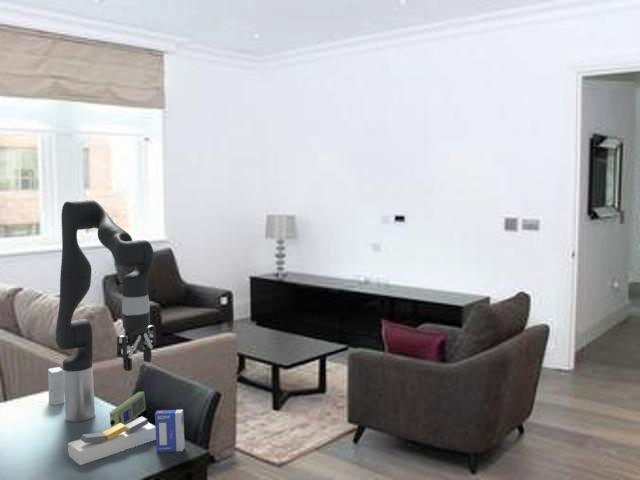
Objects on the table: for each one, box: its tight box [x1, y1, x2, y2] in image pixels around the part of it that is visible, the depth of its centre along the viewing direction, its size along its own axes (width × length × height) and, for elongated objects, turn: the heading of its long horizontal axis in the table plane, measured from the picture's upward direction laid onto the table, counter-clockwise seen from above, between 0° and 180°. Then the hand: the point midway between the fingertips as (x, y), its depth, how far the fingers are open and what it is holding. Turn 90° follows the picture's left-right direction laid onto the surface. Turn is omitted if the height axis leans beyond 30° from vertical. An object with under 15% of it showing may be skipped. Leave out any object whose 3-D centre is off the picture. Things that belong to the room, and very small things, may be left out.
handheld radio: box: [109, 391, 147, 428], centre depth 205 cm, size 7×3×25 cm
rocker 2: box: [125, 416, 149, 433], centre depth 190 cm, size 3×6×2 cm, turn 134°
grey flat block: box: [80, 432, 106, 443], centre depth 181 cm, size 3×6×2 cm, turn 134°
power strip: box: [67, 422, 156, 466], centre depth 187 cm, size 8×24×4 cm, turn 134°
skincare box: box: [47, 366, 65, 406], centre depth 225 cm, size 6×4×12 cm
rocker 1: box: [101, 423, 127, 440], centre depth 185 cm, size 3×6×2 cm, turn 134°
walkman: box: [154, 409, 185, 453], centre depth 185 cm, size 8×3×12 cm, turn 94°
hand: (137, 365), depth 180 cm, fingers open, 8 cm apart
